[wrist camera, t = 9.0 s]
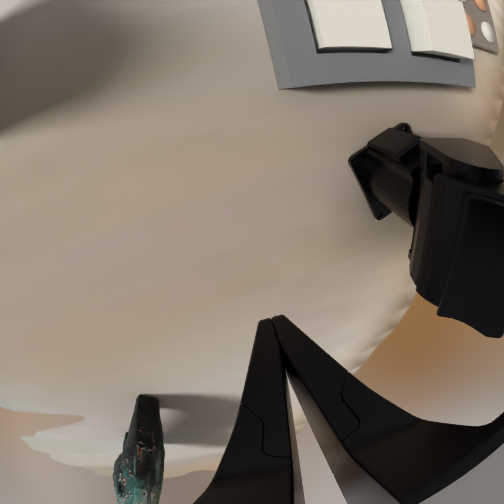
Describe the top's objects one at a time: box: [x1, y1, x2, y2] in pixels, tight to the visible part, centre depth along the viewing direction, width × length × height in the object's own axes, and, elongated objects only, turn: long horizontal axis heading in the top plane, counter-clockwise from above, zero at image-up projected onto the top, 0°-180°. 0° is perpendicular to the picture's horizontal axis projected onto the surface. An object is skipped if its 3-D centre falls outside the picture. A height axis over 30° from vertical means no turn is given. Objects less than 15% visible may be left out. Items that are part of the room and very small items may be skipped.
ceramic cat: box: [113, 395, 165, 504], centre depth 27 cm, size 20×6×20 cm, turn 154°
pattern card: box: [460, 0, 499, 53], centre depth 13 cm, size 8×8×1 cm
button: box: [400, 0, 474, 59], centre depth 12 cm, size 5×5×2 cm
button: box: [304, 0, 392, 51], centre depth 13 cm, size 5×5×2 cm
